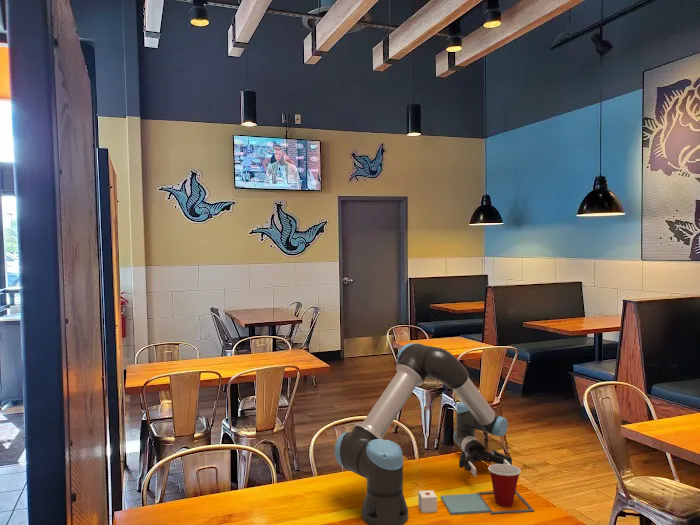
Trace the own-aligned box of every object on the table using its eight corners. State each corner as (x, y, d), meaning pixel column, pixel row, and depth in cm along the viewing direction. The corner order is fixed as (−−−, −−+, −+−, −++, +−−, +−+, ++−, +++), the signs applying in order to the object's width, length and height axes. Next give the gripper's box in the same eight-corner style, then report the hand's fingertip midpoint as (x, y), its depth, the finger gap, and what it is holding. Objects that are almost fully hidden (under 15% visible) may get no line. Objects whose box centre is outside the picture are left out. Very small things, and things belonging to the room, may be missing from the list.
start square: (491, 514, 178) (491, 512, 178) (476, 493, 193) (476, 492, 192) (534, 511, 180) (534, 510, 180) (515, 491, 194) (515, 490, 194)
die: (422, 512, 179) (422, 497, 179) (418, 505, 184) (418, 490, 184) (436, 511, 180) (436, 496, 180) (432, 504, 185) (432, 489, 185)
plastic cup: (517, 495, 191) (517, 462, 190) (523, 511, 180) (524, 475, 180) (485, 494, 192) (485, 461, 192) (490, 509, 181) (490, 474, 181)
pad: (450, 514, 178) (450, 512, 178) (440, 497, 190) (440, 495, 190) (489, 512, 179) (489, 510, 179) (476, 495, 191) (476, 493, 191)
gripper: (503, 456, 218) (526, 479, 197) (443, 460, 215) (459, 483, 194) (503, 438, 218) (526, 459, 197) (442, 441, 215) (459, 463, 194)
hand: (493, 471), depth 195 cm, fingers open, 13 cm apart
